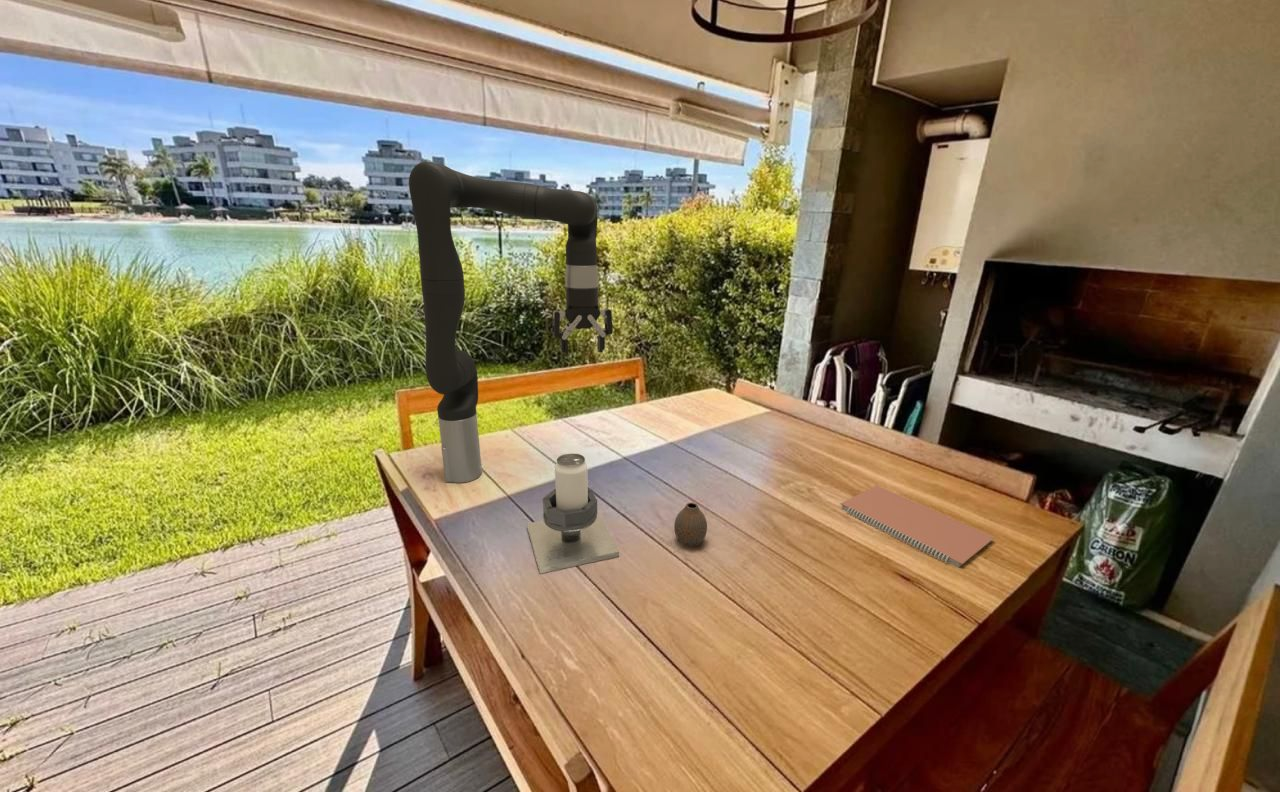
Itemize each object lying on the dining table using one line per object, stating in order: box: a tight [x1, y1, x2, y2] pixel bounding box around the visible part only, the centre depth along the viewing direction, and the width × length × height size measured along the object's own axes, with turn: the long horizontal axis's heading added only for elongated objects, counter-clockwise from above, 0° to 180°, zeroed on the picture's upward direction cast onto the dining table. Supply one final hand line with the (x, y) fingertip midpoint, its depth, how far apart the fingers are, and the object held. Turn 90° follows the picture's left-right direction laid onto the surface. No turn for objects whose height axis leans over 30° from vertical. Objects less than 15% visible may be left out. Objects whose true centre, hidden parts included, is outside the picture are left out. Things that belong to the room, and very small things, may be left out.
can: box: [554, 452, 589, 511], centre depth 101 cm, size 6×6×12 cm
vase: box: [673, 502, 708, 547], centre depth 105 cm, size 7×7×9 cm
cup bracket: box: [526, 488, 620, 575], centre depth 104 cm, size 16×16×10 cm
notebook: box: [840, 485, 995, 568], centre depth 114 cm, size 27×17×2 cm, turn 36°
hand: (583, 352), depth 121 cm, fingers open, 8 cm apart
